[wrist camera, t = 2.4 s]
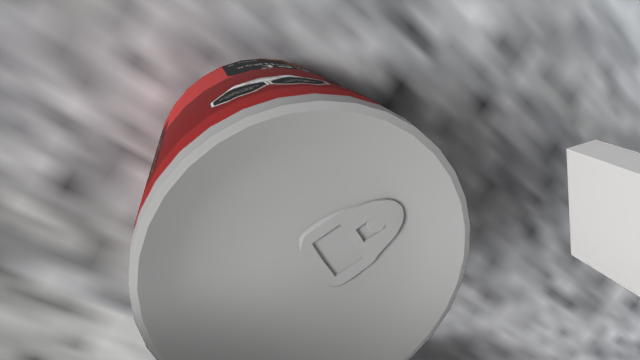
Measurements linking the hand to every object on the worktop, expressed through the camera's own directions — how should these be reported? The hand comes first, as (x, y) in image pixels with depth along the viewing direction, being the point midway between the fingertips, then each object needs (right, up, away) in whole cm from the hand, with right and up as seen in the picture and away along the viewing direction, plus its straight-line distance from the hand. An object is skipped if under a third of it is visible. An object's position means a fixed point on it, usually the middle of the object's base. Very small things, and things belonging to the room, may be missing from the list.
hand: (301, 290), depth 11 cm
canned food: (-2, +4, +11) cm, 12 cm away
